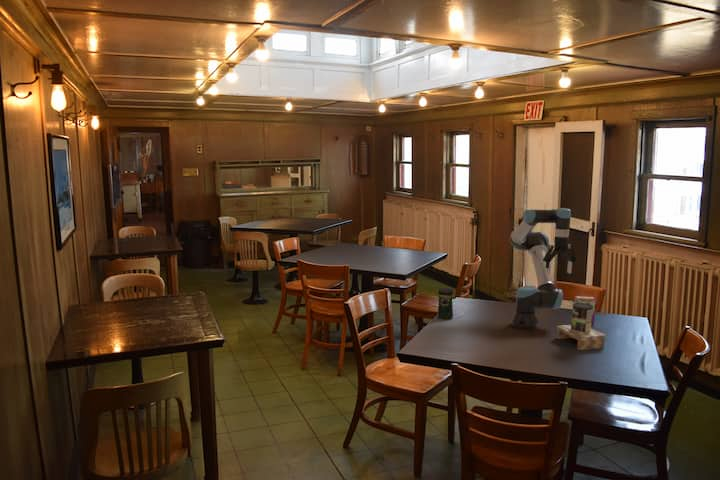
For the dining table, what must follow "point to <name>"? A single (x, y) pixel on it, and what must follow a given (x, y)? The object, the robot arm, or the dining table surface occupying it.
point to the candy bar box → (588, 301)
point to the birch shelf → (582, 337)
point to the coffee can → (581, 318)
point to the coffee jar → (445, 303)
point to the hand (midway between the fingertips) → (558, 273)
